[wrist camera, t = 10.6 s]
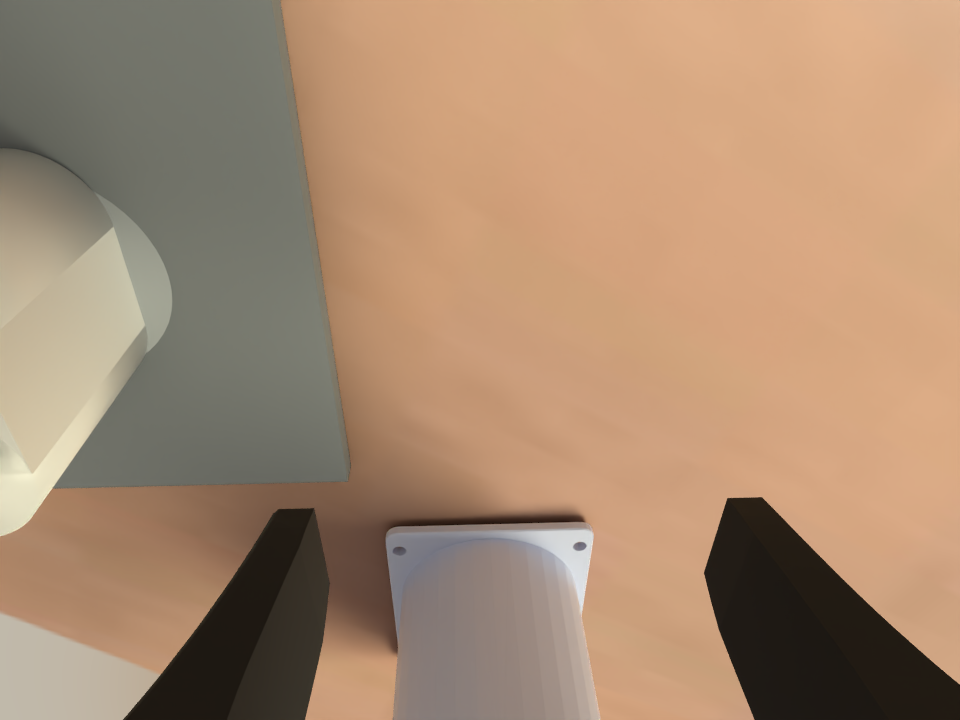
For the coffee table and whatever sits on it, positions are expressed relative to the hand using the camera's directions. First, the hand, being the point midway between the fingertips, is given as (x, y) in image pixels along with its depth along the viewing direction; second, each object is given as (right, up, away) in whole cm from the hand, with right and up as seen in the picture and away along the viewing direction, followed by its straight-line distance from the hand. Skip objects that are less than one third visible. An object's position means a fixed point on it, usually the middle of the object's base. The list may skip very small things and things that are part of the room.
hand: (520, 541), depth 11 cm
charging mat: (-12, +6, +7) cm, 15 cm away
